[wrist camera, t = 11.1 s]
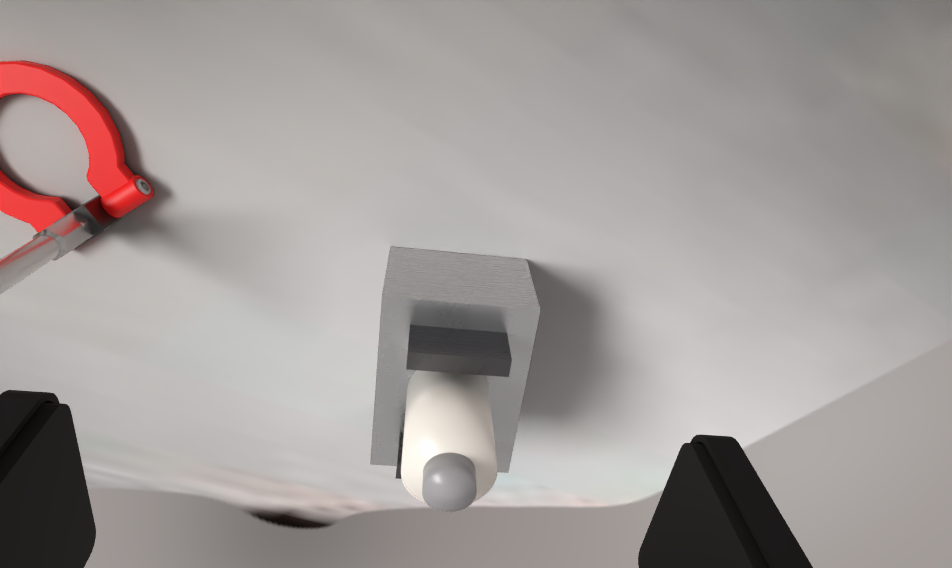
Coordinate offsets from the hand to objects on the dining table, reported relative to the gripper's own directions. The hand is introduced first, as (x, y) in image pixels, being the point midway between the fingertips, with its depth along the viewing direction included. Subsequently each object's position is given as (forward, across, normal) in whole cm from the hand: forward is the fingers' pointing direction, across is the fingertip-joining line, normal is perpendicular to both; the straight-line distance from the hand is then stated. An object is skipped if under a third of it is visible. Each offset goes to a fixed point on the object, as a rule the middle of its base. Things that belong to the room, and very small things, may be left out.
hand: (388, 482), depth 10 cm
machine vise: (+26, -4, +16) cm, 30 cm away
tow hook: (+27, +19, +6) cm, 33 cm away
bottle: (+20, -3, +14) cm, 25 cm away
